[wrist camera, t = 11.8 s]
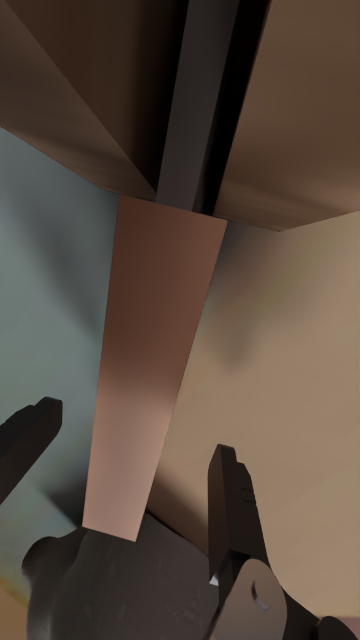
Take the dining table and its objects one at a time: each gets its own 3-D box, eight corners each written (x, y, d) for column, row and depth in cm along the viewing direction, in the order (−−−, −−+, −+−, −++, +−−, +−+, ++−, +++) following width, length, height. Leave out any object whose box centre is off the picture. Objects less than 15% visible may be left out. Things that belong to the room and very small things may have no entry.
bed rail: (242, 137, 9) (291, -1, 4) (155, 453, 15) (135, 541, 11) (175, 121, 9) (144, -33, 4) (118, 442, 15) (82, 526, 11)
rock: (40, 516, 20) (-54, 670, 13) (110, 474, 17) (39, 648, 10) (162, 601, 24) (144, 762, 16) (241, 579, 20) (263, 769, 13)
